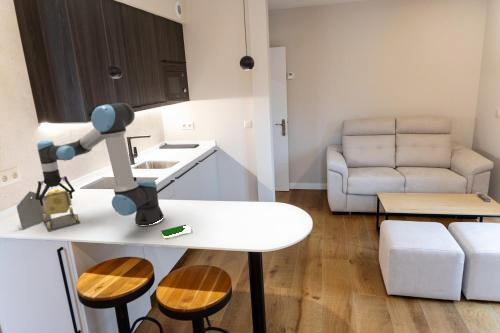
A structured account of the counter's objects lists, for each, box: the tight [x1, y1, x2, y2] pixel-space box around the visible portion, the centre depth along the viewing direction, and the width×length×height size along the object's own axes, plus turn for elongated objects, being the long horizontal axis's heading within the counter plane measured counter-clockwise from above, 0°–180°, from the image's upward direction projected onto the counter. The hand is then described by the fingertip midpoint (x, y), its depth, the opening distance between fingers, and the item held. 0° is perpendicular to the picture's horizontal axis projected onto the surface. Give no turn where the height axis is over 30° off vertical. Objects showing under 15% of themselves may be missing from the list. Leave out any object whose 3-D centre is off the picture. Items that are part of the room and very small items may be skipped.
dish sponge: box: [160, 224, 186, 236], centre depth 170 cm, size 7×14×2 cm, turn 117°
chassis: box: [42, 206, 81, 233], centre depth 190 cm, size 16×16×5 cm
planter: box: [16, 190, 52, 231], centre depth 190 cm, size 16×8×19 cm, turn 152°
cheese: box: [45, 189, 71, 215], centre depth 188 cm, size 10×11×10 cm
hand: (58, 207), depth 188 cm, fingers closed on cheese, 12 cm apart
